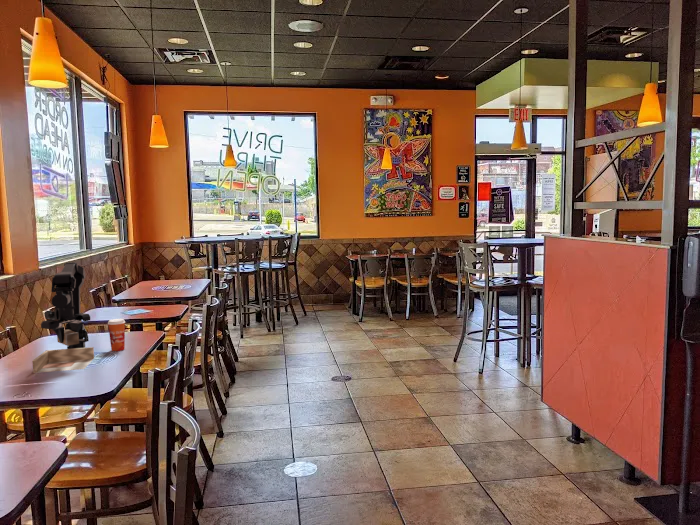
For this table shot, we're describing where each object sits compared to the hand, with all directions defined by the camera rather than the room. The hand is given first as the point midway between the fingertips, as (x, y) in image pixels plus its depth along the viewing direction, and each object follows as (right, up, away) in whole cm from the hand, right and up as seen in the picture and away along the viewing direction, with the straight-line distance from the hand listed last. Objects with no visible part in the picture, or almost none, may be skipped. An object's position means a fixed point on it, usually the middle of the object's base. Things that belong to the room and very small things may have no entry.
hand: (67, 341), depth 221 cm
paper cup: (+8, -8, +28) cm, 31 cm away
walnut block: (0, -1, 0) cm, 1 cm away
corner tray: (-2, -11, +1) cm, 11 cm away
